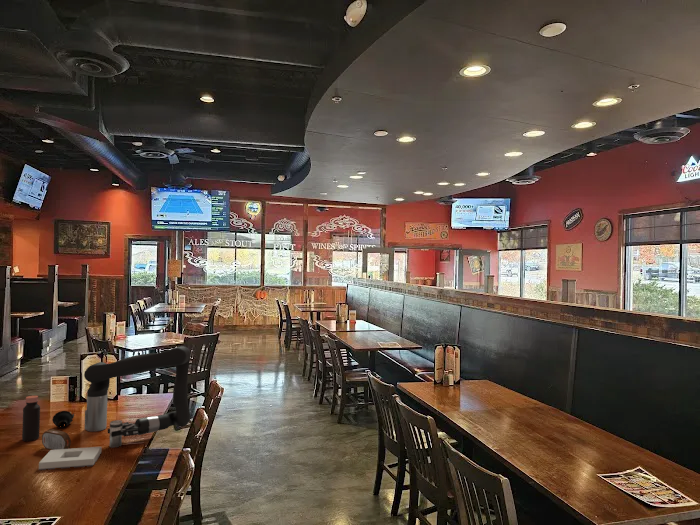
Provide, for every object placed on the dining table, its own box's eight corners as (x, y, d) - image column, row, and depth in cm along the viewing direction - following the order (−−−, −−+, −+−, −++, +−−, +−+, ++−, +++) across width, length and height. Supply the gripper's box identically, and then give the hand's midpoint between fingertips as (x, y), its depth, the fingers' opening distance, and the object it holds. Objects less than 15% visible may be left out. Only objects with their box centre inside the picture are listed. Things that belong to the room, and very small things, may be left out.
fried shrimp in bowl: (48, 422, 238) (49, 402, 253) (58, 438, 243) (59, 417, 257) (69, 414, 241) (68, 394, 256) (78, 429, 246) (77, 410, 261)
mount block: (38, 470, 194) (38, 462, 194) (50, 456, 207) (50, 449, 208) (93, 466, 199) (93, 458, 199) (101, 453, 213) (101, 446, 213)
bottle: (42, 438, 229) (43, 396, 230) (27, 442, 223) (29, 399, 224) (33, 435, 232) (34, 394, 233) (18, 440, 226) (20, 397, 226)
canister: (106, 446, 220) (107, 422, 220) (115, 443, 225) (115, 419, 225) (115, 448, 219) (116, 424, 219) (124, 444, 224) (125, 420, 224)
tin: (71, 451, 215) (71, 432, 215) (65, 453, 212) (65, 434, 212) (46, 446, 220) (46, 427, 220) (40, 448, 217) (40, 430, 217)
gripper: (142, 413, 237) (105, 420, 225) (153, 421, 227) (114, 428, 215) (141, 429, 237) (104, 436, 225) (152, 437, 226) (114, 445, 215)
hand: (109, 432), depth 220 cm, fingers closed on canister, 5 cm apart
